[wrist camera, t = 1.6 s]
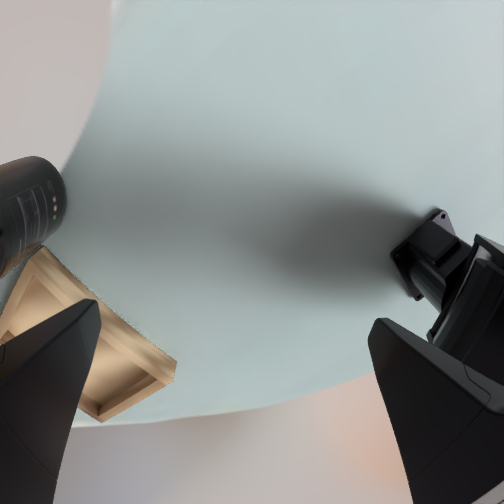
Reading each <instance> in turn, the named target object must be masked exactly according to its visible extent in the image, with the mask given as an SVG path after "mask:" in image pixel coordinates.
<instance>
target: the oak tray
mask: <svg viewBox="0 0 504 504" xmlns="http://www.w3.org/2000/svg"><path fill="white" fill-rule="evenodd" d="M84 298H89V299H95V300H97V302H98V304H99V310H100V316H101V321H102V326H101V331H100V334H99V338H98V342H97V345H96V349H95V353H94V357H93V361H92V365H91V368H90V371H89V374H88V377H87V380H86V383H85V386H84V388H83V391H82V394H81V397H80V400H79V403H78V406H77V407H78V408H79V409H81V410H82V411H84V412H85V413H87V414H88V415H90V416H91V417H93V418H94V419H96V420H97V421H99V422H101V423H102V422H104V421H106V420H108V419H110V418H112V417H113V416H115V415H117V414H119V413H120V412H122V411H124V410H126V409H127V408H129V407H131V406H133V405H134V404H136V403H138V402H140V401H141V400H143V399H145V398H146V397H148V396H150V395H151V394H153V393H155V392H156V391H158V390H160V389H161V388H163V387H165V386H166V385H168V384H169V383H171V382H173V381H174V375H175V369H176V364H177V362H176V361H175V360H174V359H172V358H171V357H170V356H168V355H167V354H165V353H164V352H163V351H161V350H160V349H159V348H157V347H156V346H155V345H154V344H152V343H151V342H150V341H148V340H147V339H146V338H145V337H143V336H142V335H141V334H139V333H138V332H137V331H136V330H134V329H133V328H132V327H131V326H130V325H128V324H127V323H126V322H125V321H124V320H122V319H121V318H120V317H119V316H118V315H116V314H115V313H114V312H113V311H112V310H111V309H109V308H108V307H107V306H106V305H105V304H104V303H103V302H102V301H100V300H99V299H98V298H97V297H96V296H95V295H94V294H93V293H92V292H90V291H89V290H88V289H87V288H86V287H85V286H84V285H83V284H82V283H81V282H80V281H79V280H78V279H77V278H76V277H75V276H74V275H73V274H72V273H71V272H70V271H68V270H67V269H66V268H65V267H64V266H63V265H62V263H61V262H60V261H59V260H58V259H57V258H56V257H55V256H54V255H53V254H52V253H51V252H50V251H49V250H48V249H47V248H46V247H45V246H44V247H42V248H41V249H40V250H39V251H38V252H36V253H35V254H34V255H33V256H32V257H30V258H29V260H28V262H27V264H26V265H25V267H24V269H23V271H22V273H21V275H20V277H19V279H18V281H17V283H16V285H15V287H14V289H13V291H12V293H11V295H10V297H9V299H8V301H7V304H6V306H5V308H4V310H3V313H2V315H1V317H0V344H1V345H2V344H5V343H6V342H7V341H9V340H11V339H12V338H14V337H16V336H17V335H19V334H21V333H23V332H24V331H26V330H28V329H30V328H32V327H33V326H35V325H37V324H39V323H40V322H42V321H44V320H46V319H48V318H49V317H51V316H53V315H55V314H57V313H58V312H60V311H62V310H64V309H66V308H68V307H69V306H71V305H73V304H75V303H77V302H79V301H81V300H82V299H84Z"/></svg>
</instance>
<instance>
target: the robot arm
mask: <svg viewBox="0 0 504 504" xmlns="http://www.w3.org/2000/svg"><path fill="white" fill-rule="evenodd" d="M442 214H443V216H442V217H441V215H442ZM397 254H398V256H397V257H395V256H396V255H397ZM390 257H391V259H392V261H393V263H394V264H395V266H396V268H397V270H398V271H399V273H400V275H401V277H402V278H403V280H404V282H405V284H406V286H407V287H408V289H409V291H410V293H411V295H412V297H413V298H414V299H415V300H416V301H419V300H421V299H422V298H423V297H424V296H425V297H426V299H427V300H428V301H429V302H430V303H431V304H432V305H433V306H434V307H435V308H436V310H437V311H438V312H439V313H440V314H439V316H438V318H437V320H436V322H435V323H434V325H433V327H432V328H431V329H430V330H429V331H428V333H427V335H426V336H427V339H428V342H427V341H425V340H424V339H422V338H420V337H419V336H417V335H415V334H414V333H412V332H410V331H409V330H407V329H405V328H404V327H402V326H400V325H399V324H397V323H395V322H394V321H392V320H390V319H389V318H377V319H376V320H375V322H374V324H373V327H372V329H371V331H370V334H369V336H368V346H369V350H370V354H371V358H372V362H373V367H374V371H375V375H376V379H377V382H378V385H379V388H380V391H381V394H382V396H383V400H384V402H385V405H386V408H387V412H388V415H389V418H390V421H391V424H392V427H393V430H394V434H395V437H396V440H397V444H398V447H399V451H400V454H401V457H402V461H403V465H404V468H405V472H406V475H407V479H408V481H409V482H408V484H409V488H410V492H411V496H412V500H413V504H504V246H502V245H500V244H498V243H496V242H494V241H492V240H490V239H487V238H485V237H483V236H481V235H479V234H476V235H475V238H474V244H473V246H470V245H469V244H467V243H466V242H464V241H463V240H461V239H460V238H458V237H457V236H456V235H455V232H454V229H453V227H452V224H451V222H450V219H449V217H448V214H447V212H446V211H444V210H442V209H441V210H439V211H438V212H437V213H435V214H434V215H433V216H432V217H431V218H430V219H429V220H428V221H427V222H425V223H424V224H423V225H422V226H421V227H420V228H419V229H418V230H416V231H415V232H414V233H413V234H412V235H411V236H410V237H409V238H407V239H406V240H405V241H404V242H403V243H402V244H400V245H399V246H398V247H397V248H396V249H394V250H393V251H392V252H391V255H390ZM101 326H102V321H101V316H100V310H99V304H98V302H97V300H95V299H89V298H84V299H82V300H81V301H79V302H77V303H75V304H73V305H71V306H69V307H68V308H66V309H64V310H62V311H60V312H58V313H57V314H55V315H53V316H51V317H49V318H48V319H46V320H44V321H42V322H40V323H39V324H37V325H35V326H33V327H32V328H30V329H28V330H26V331H24V332H23V333H21V334H19V335H17V336H16V337H14V338H12V339H11V340H9V341H7V342H6V343H5V344H2V345H0V504H53V499H54V494H55V489H56V484H57V479H58V475H59V470H60V466H61V462H62V458H63V454H64V450H65V446H66V443H67V439H68V436H69V432H70V429H71V426H72V422H73V419H74V416H75V413H76V409H77V406H78V403H79V400H80V397H81V394H82V391H83V388H84V386H85V383H86V380H87V377H88V374H89V371H90V368H91V365H92V361H93V357H94V353H95V349H96V345H97V342H98V338H99V334H100V331H101Z"/></svg>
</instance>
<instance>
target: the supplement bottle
mask: <svg viewBox="0 0 504 504" xmlns="http://www.w3.org/2000/svg"><path fill="white" fill-rule="evenodd" d="M66 204H67V197H66V190H65V186H64V183H63V180H62V178H61V176H60V174H59V172H58V171H57V169H56V168H55V167H54V166H53V165H52V164H51V163H50V162H49V161H47V160H45V159H44V158H41V157H36V156H30V157H25V158H21V159H18V160H14V161H11V162H8V163H5V164H2V165H0V279H2V278H3V277H4V276H5V275H6V274H7V273H8V272H9V271H10V270H11V269H12V268H14V267H15V266H16V265H17V264H18V263H19V262H20V261H21V260H22V259H24V258H25V257H26V256H27V255H28V254H29V253H30V252H32V251H33V250H34V249H35V248H36V247H38V246H39V245H40V244H41V243H42V242H44V241H45V240H46V239H47V238H48V237H49V236H51V235H52V234H53V233H54V232H55V231H56V230H57V229H58V228H59V226H60V225H61V223H62V221H63V218H64V216H65V212H66Z"/></svg>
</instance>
